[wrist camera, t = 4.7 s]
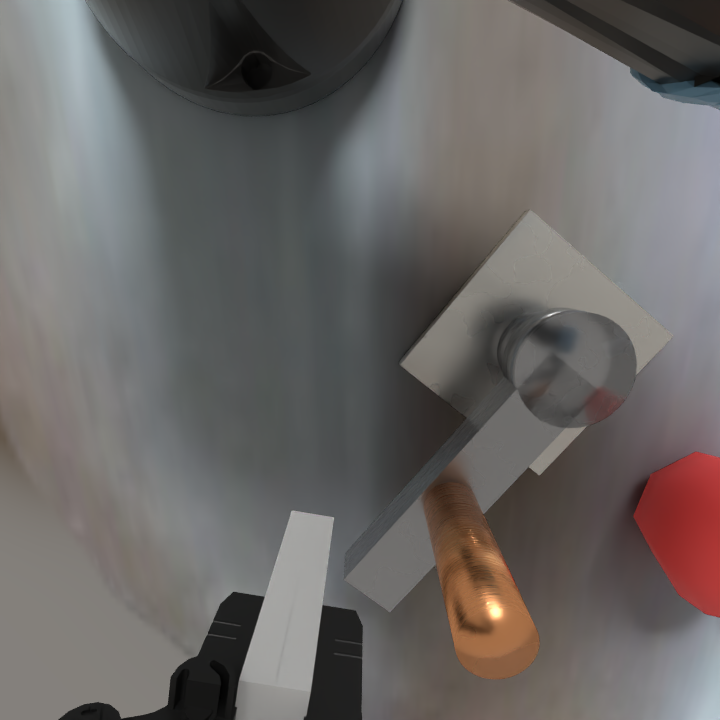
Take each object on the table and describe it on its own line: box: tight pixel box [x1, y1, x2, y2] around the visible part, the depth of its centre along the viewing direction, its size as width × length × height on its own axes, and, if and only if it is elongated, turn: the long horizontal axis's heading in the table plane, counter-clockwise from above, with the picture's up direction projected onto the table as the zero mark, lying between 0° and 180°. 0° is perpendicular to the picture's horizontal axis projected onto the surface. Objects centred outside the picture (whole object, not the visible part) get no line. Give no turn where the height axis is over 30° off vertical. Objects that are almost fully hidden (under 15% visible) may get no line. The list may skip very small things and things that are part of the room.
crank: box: [344, 307, 637, 679], centre depth 17 cm, size 16×5×10 cm, turn 141°
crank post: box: [399, 210, 673, 475], centre depth 23 cm, size 10×10×3 cm
